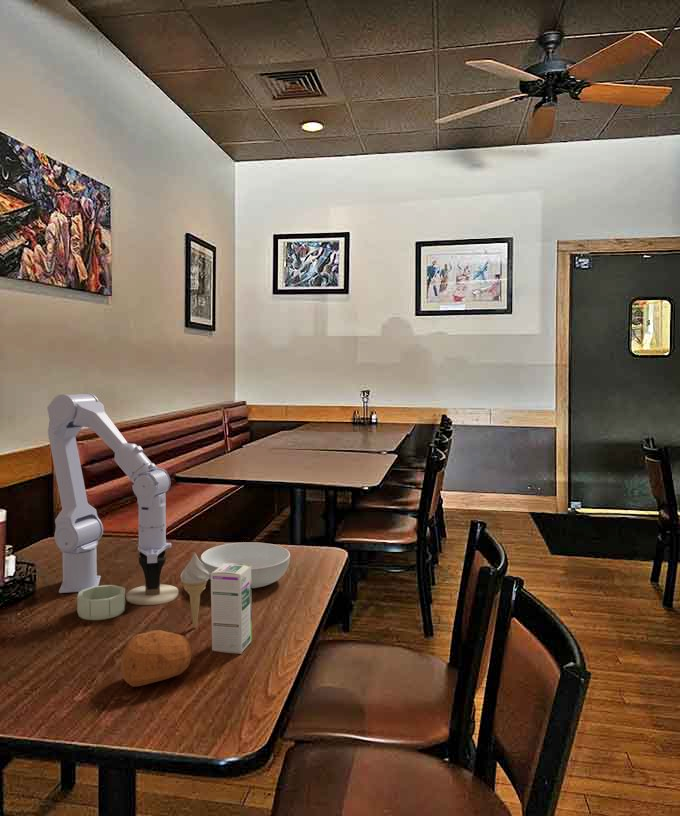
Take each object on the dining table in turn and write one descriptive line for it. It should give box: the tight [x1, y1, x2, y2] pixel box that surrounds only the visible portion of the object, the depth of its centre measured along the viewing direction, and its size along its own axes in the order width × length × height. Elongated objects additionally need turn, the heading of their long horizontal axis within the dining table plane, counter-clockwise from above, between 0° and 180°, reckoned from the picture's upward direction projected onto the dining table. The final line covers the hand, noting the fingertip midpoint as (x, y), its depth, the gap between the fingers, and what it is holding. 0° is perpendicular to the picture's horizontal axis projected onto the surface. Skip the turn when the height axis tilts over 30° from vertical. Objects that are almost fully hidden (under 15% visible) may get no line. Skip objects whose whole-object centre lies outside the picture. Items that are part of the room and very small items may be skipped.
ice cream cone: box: [179, 551, 210, 629], centre depth 125 cm, size 6×6×15 cm
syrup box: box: [210, 563, 253, 655], centre depth 117 cm, size 6×6×14 cm
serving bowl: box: [199, 541, 291, 589], centre depth 151 cm, size 21×21×7 cm
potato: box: [120, 629, 193, 687], centre depth 105 cm, size 9×11×8 cm
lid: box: [125, 579, 179, 606], centre depth 142 cm, size 11×11×5 cm
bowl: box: [76, 584, 126, 621], centre depth 132 cm, size 9×9×4 cm
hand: (152, 586), depth 142 cm, fingers closed on lid, 3 cm apart
